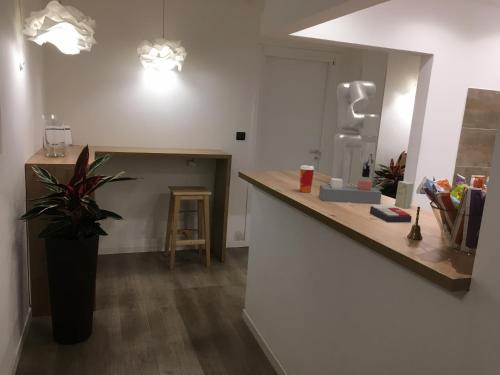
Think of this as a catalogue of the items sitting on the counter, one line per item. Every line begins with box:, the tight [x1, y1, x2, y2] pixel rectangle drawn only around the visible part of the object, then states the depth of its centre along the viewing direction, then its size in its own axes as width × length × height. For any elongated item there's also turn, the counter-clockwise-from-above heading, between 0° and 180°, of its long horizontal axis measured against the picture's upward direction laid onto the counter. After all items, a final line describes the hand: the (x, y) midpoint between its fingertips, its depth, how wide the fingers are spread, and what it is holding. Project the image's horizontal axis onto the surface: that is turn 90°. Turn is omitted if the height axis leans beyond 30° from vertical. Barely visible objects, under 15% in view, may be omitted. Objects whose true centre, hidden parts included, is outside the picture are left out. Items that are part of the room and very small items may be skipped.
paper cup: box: [299, 164, 315, 194], centre depth 222 cm, size 8×8×14 cm
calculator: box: [369, 205, 413, 223], centre depth 178 cm, size 11×4×15 cm
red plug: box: [357, 179, 372, 191], centre depth 208 cm, size 5×5×7 cm
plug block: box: [318, 184, 382, 205], centre depth 209 cm, size 12×28×6 cm, turn 90°
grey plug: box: [329, 177, 343, 189], centre depth 208 cm, size 5×5×7 cm
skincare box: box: [394, 180, 415, 209], centre depth 199 cm, size 6×4×12 cm
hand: (365, 176), depth 207 cm, fingers closed
